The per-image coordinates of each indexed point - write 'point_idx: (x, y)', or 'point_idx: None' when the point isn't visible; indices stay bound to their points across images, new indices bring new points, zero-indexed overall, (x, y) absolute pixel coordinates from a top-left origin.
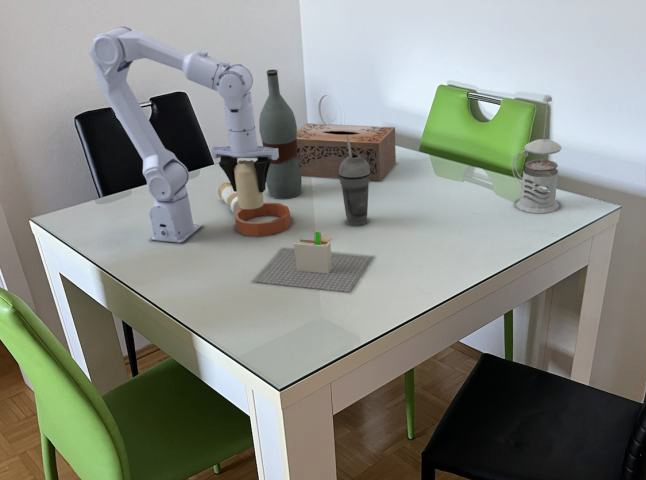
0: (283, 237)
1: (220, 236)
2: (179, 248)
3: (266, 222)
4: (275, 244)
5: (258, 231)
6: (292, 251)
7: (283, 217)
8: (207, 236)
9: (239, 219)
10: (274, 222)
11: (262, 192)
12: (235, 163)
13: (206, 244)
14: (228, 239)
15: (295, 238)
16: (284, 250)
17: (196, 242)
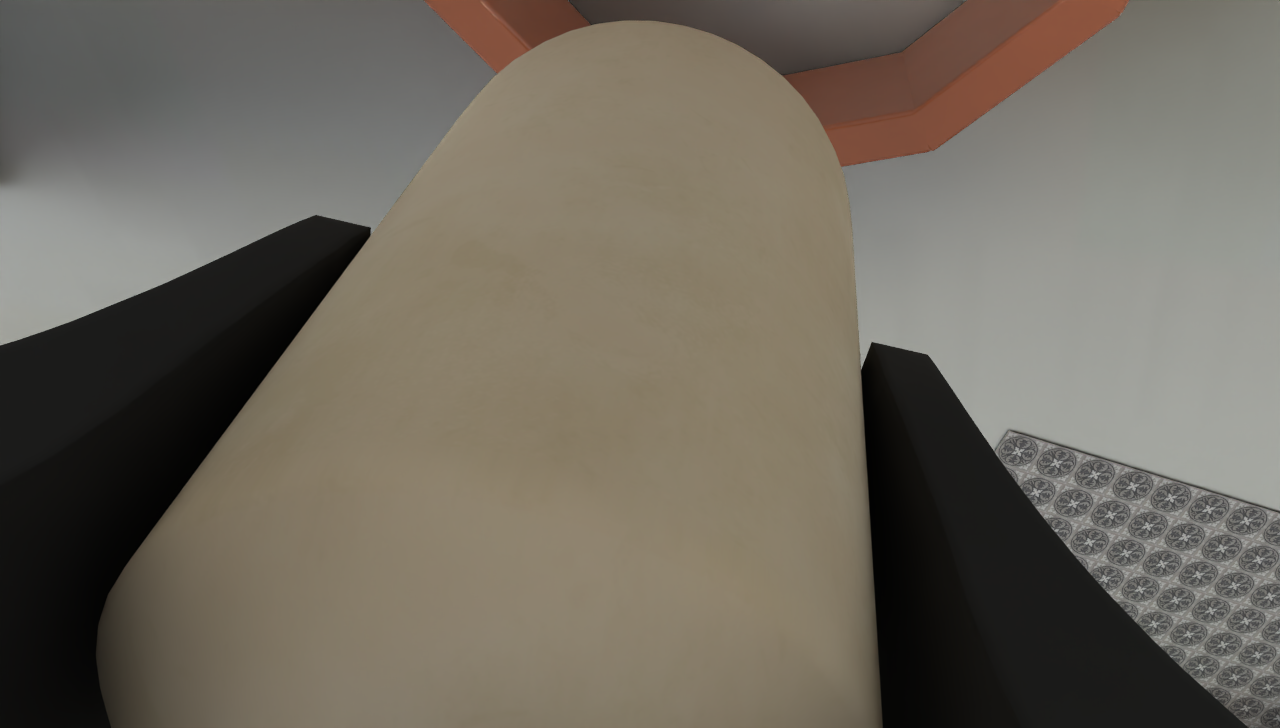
0: (1029, 177)
1: (306, 63)
2: (40, 281)
3: (852, 151)
4: (931, 325)
5: None
6: (1087, 481)
7: (1110, 4)
8: (163, 46)
9: (462, 3)
10: (960, 125)
11: (856, 304)
12: (12, 650)
13: (243, 235)
14: (420, 151)
15: (1167, 219)
16: (1014, 452)
17: (124, 179)
